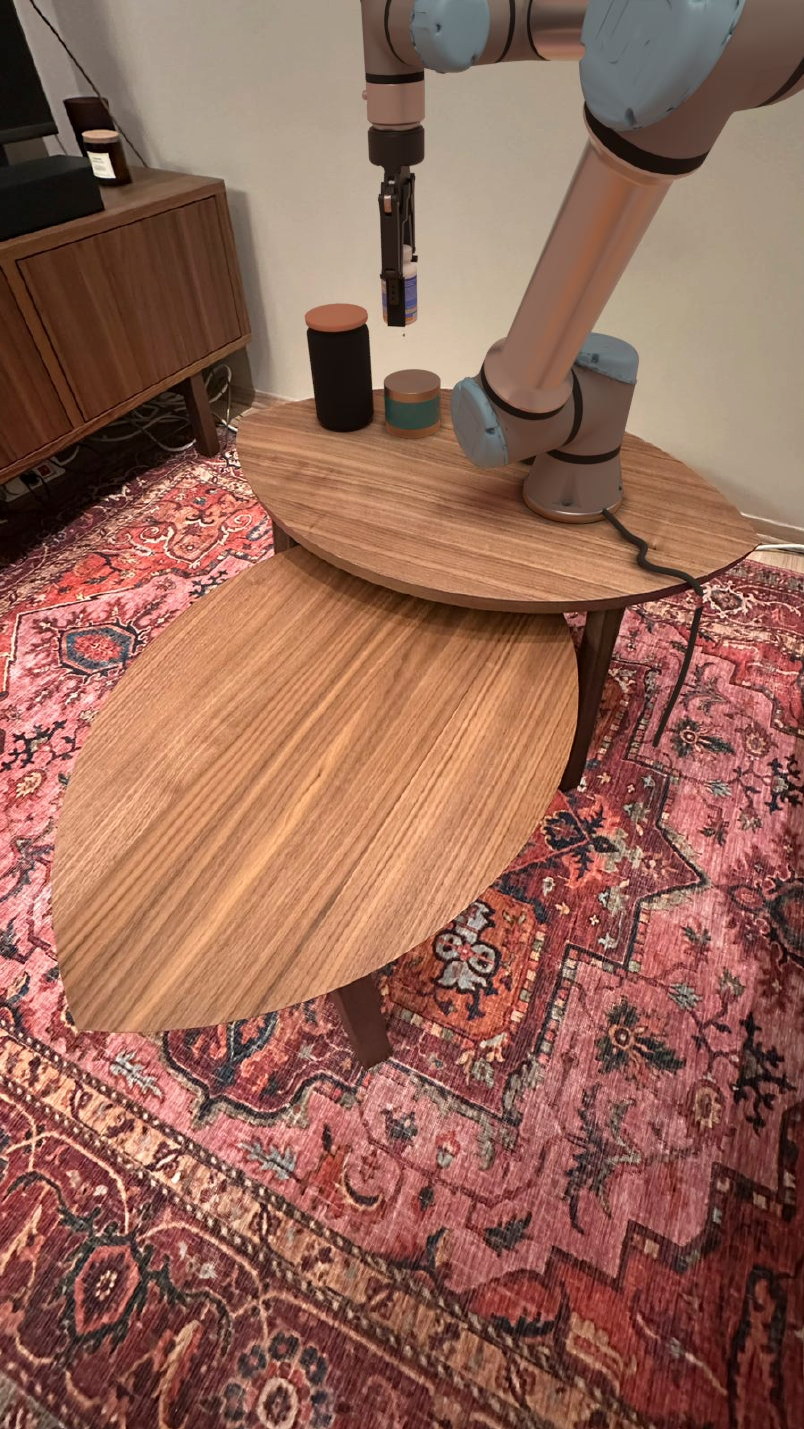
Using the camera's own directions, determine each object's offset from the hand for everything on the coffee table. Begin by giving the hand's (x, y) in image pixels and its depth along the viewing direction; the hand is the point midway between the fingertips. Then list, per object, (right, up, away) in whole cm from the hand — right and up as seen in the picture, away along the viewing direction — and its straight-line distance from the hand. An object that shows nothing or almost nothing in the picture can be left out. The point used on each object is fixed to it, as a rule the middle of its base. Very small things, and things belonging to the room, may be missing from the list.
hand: (400, 318), depth 107 cm
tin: (+2, -9, +19) cm, 21 cm away
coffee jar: (-10, -7, +21) cm, 24 cm away
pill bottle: (0, 0, 0) cm, 1 cm away
